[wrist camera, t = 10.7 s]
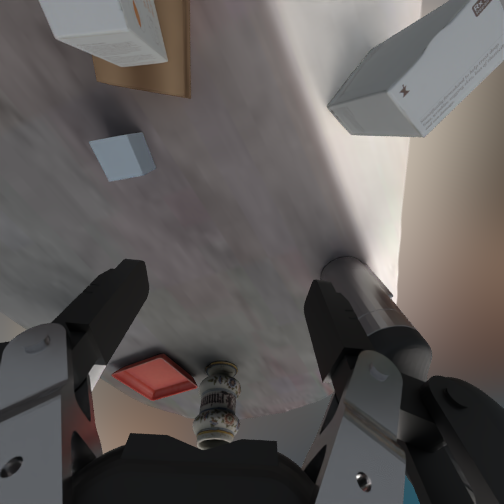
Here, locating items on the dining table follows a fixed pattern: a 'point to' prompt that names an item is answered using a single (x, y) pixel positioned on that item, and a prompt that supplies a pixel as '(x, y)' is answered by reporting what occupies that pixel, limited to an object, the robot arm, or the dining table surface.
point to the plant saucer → (156, 377)
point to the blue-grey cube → (123, 156)
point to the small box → (109, 29)
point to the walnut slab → (160, 74)
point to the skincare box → (422, 71)
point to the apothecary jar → (217, 406)
